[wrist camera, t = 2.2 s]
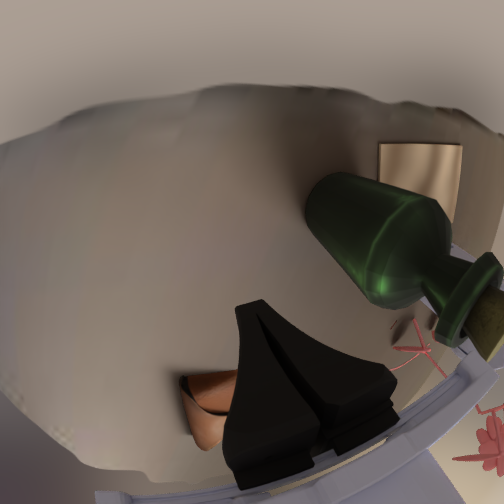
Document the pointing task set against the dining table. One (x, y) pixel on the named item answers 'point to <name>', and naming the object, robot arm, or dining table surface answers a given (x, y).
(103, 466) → the dining table surface
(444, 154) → the placemat
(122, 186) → the dining table surface
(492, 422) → the figurine
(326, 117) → the dining table surface
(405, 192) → the potion bottle
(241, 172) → the dining table surface
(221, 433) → the sunglasses case
